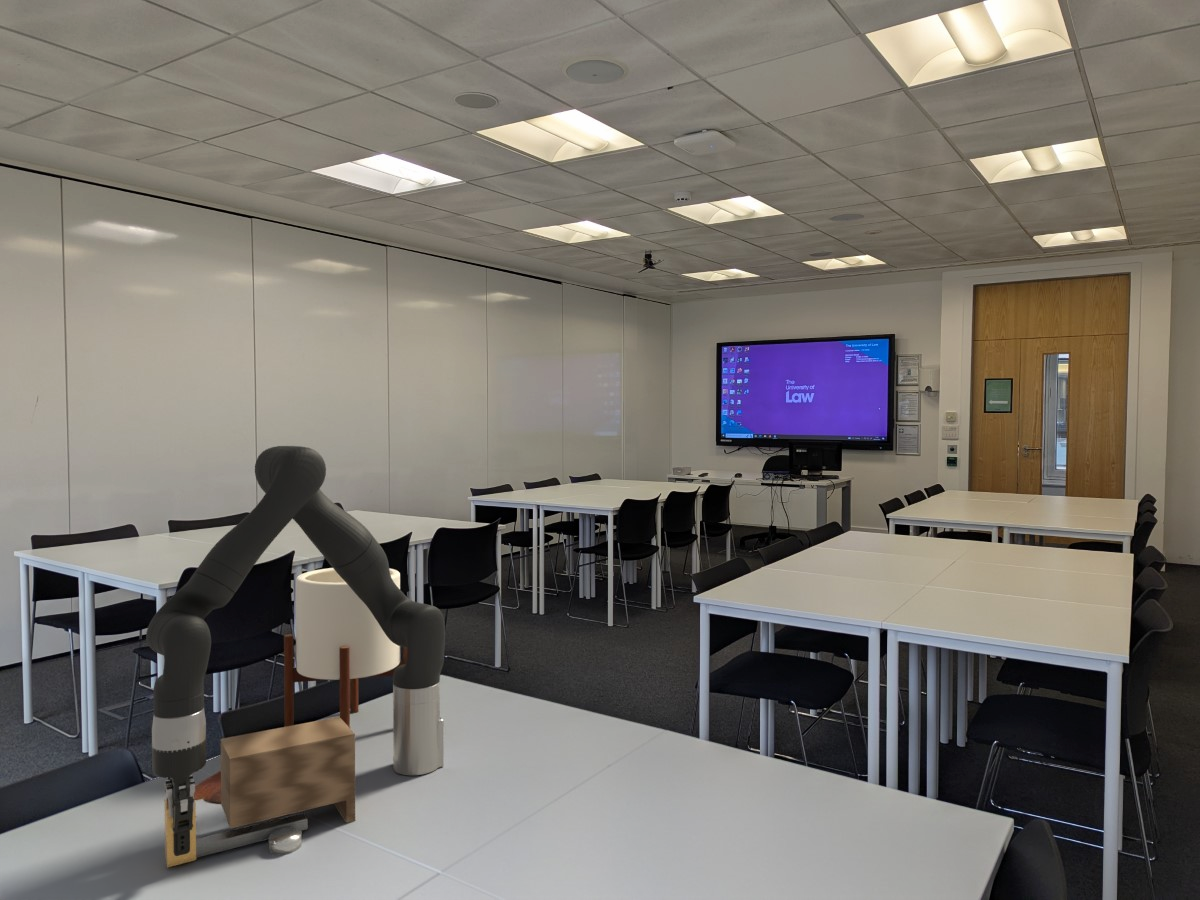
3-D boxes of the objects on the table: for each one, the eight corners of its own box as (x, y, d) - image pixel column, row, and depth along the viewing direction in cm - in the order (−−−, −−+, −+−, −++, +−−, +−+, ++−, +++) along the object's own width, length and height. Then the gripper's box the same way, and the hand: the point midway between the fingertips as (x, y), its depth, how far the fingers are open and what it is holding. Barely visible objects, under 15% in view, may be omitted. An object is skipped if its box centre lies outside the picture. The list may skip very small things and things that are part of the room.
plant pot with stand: (421, 725, 185) (420, 571, 185) (343, 758, 166) (342, 587, 166) (354, 707, 197) (354, 563, 196) (275, 736, 178) (274, 576, 177)
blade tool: (303, 821, 138) (302, 769, 138) (308, 830, 135) (308, 777, 134) (165, 855, 127) (164, 799, 126) (167, 867, 123) (166, 809, 123)
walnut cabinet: (339, 798, 148) (339, 716, 148) (355, 820, 140) (354, 733, 139) (221, 827, 137) (220, 738, 137) (230, 853, 129) (229, 758, 129)
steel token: (299, 836, 134) (299, 824, 134) (304, 850, 130) (304, 838, 130) (267, 844, 132) (267, 832, 132) (271, 858, 128) (271, 845, 127)
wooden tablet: (227, 807, 146) (227, 798, 146) (178, 802, 148) (178, 793, 148) (308, 750, 172) (308, 743, 172) (266, 747, 174) (266, 739, 174)
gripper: (211, 749, 122) (212, 860, 122) (200, 720, 134) (201, 822, 134) (155, 760, 118) (156, 875, 118) (148, 729, 130) (150, 834, 130)
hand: (180, 846), depth 126 cm, fingers closed on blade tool, 4 cm apart
